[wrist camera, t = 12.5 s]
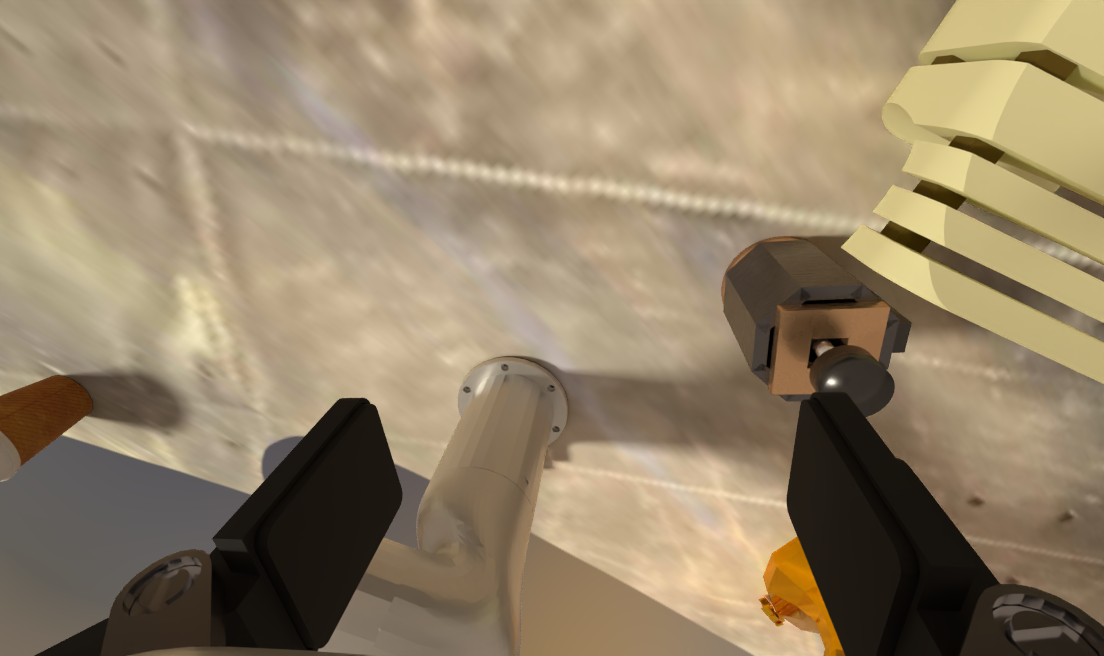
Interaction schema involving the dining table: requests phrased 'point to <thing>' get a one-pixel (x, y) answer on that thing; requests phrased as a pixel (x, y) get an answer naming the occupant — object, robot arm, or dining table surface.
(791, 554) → the yellow tall piece
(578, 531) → the dining table surface
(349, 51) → the dining table surface
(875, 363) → the plunger
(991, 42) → the slatted curved stool
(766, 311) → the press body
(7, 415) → the glass of beer
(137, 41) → the dining table surface
